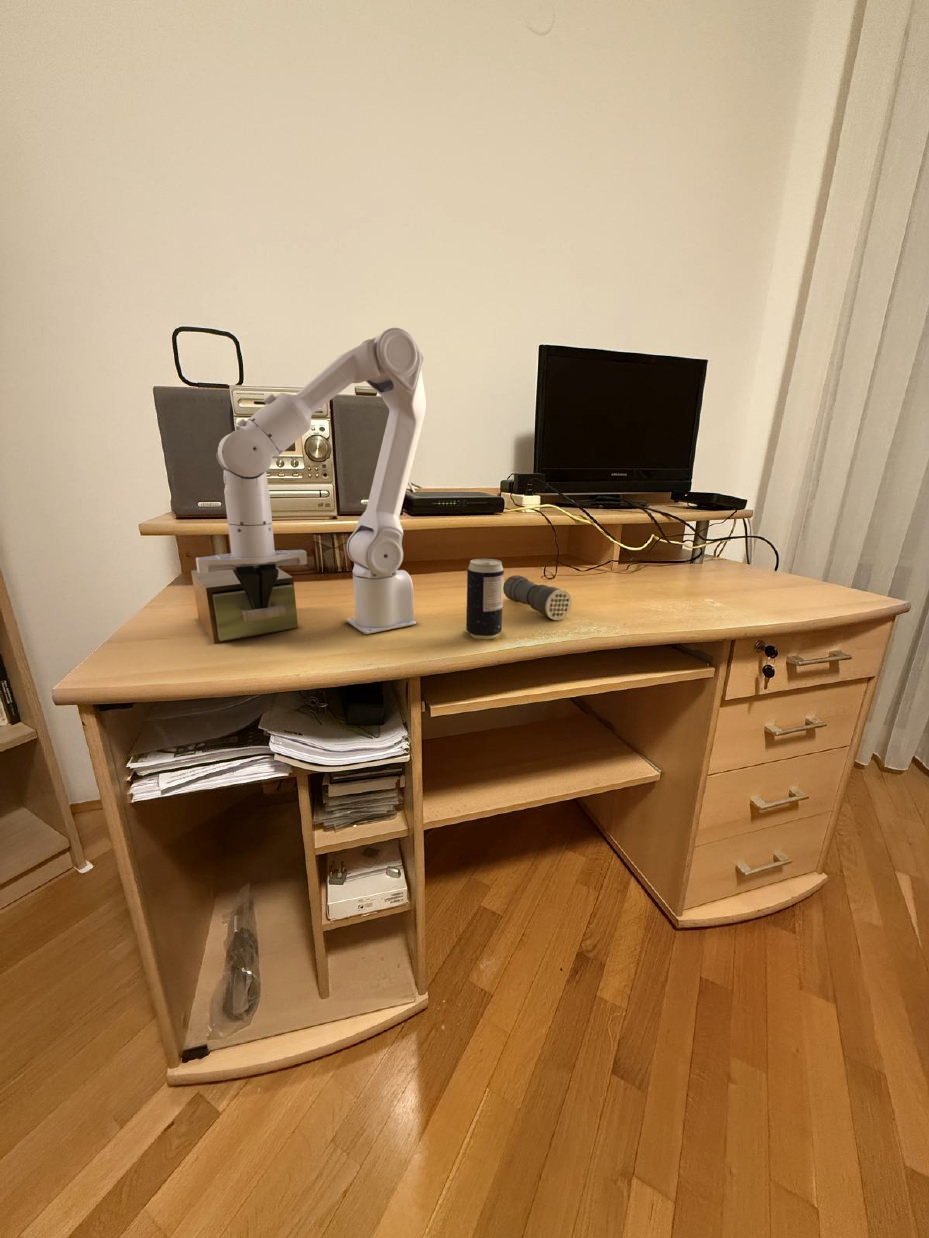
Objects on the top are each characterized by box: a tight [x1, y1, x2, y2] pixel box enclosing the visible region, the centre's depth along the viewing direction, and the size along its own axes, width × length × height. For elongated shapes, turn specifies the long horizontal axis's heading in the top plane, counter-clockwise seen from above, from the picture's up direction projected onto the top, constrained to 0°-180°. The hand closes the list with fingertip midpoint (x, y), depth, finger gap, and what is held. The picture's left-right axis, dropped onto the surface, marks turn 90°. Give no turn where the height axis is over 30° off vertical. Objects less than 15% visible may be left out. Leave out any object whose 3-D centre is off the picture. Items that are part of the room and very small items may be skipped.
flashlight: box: [503, 574, 573, 621], centre depth 93 cm, size 15×5×5 cm, turn 28°
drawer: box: [212, 584, 299, 641], centre depth 77 cm, size 17×11×7 cm, turn 36°
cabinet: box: [190, 566, 299, 644], centre depth 81 cm, size 14×13×9 cm
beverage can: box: [465, 558, 505, 640], centre depth 77 cm, size 6×6×12 cm
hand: (259, 616), depth 72 cm, fingers closed, pressing on drawer
